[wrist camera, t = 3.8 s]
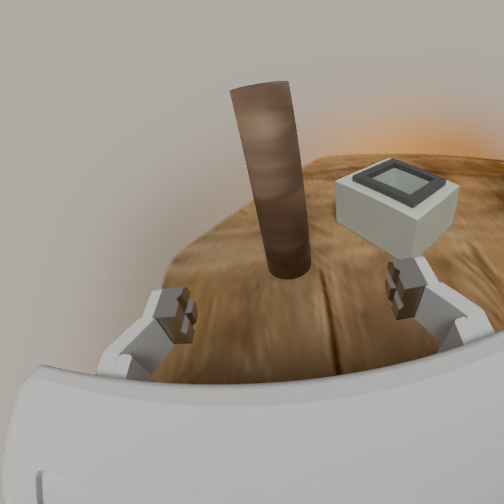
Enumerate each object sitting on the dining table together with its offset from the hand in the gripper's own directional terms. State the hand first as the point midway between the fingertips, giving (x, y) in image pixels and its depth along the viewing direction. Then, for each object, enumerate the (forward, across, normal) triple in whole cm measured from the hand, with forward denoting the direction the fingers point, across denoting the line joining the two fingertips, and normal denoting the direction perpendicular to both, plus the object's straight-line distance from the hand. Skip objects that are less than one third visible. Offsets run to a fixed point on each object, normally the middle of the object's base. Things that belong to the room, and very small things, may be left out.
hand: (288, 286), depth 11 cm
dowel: (+12, 0, -10) cm, 15 cm away
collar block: (+16, +12, -10) cm, 23 cm away
